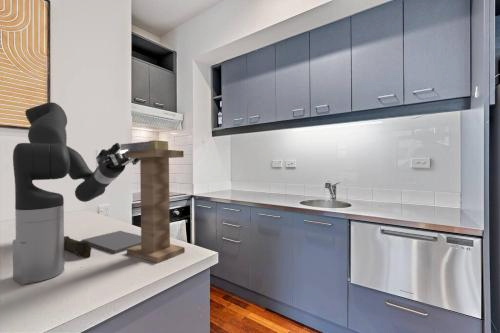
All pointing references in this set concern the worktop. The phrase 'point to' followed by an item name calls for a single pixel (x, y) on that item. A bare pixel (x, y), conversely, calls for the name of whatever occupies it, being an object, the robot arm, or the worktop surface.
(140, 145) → the grey rectangular bar
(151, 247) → the walnut stand
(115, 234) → the rubber mat
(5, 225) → the worktop surface
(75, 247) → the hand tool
